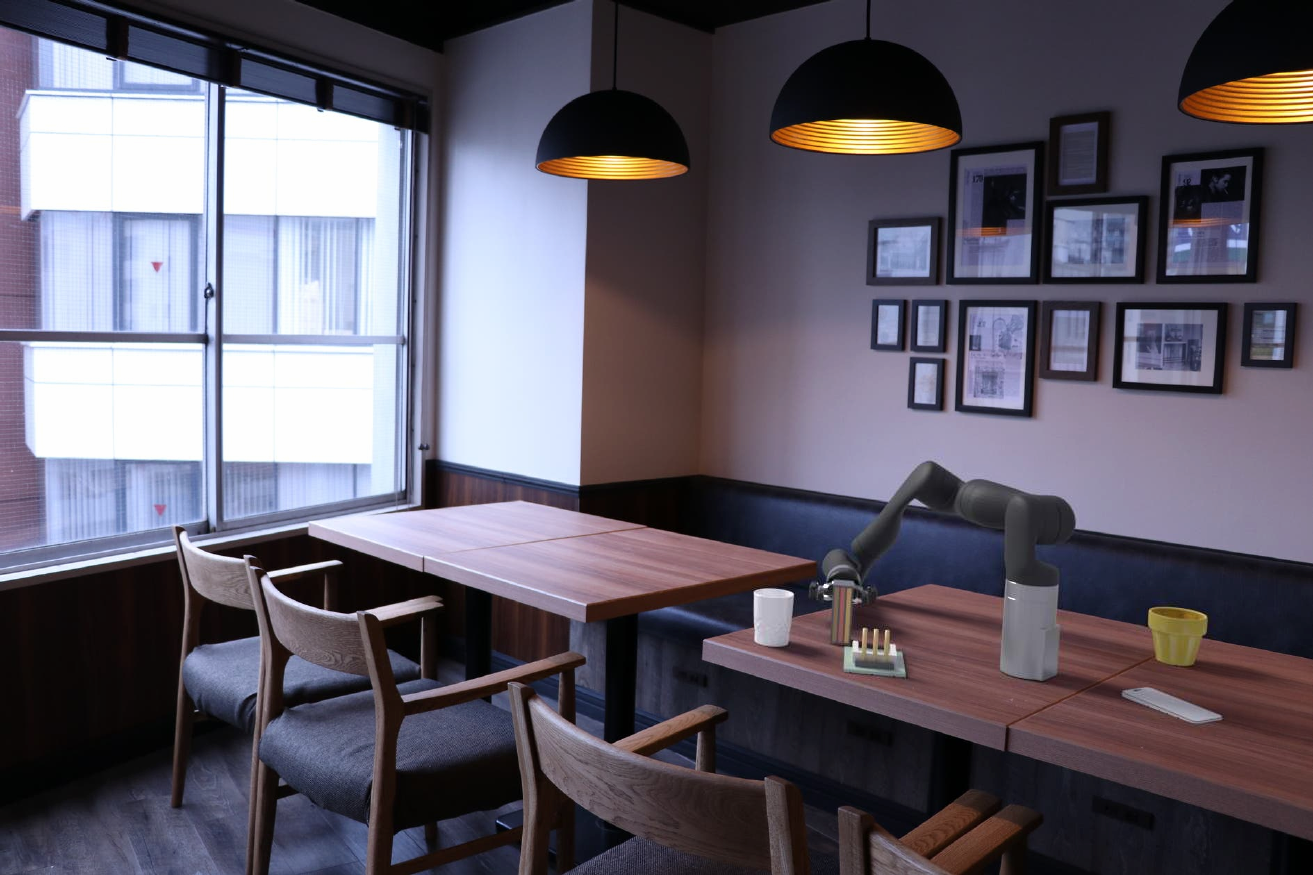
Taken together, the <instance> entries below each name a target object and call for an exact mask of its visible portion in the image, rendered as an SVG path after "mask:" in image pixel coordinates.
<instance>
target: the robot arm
mask: <svg viewBox="0 0 1313 875" xmlns="http://www.w3.org/2000/svg"><path fill="white" fill-rule="evenodd" d="M914 500H917V501H918V502H920V503H921V504H923V505H924V506H926V507H927V508H929V509H931V510H933V511H934V512H936V513H940V514H943V515H944V514H947V515H953V516H954V515H955V516H960V517H961V518H963V519H964V520H966V521H969V522H970V523H973V524H976V525H979V526H982V527H985V528H991V529H1000V530H1004V559H1003V560H1004V565H1005V572H1006V573H1005V587H1004V599H1003V600H1004V601H1003V602H1004V603H1003V616H1002V617H1003V618H1002V632H1001V646H1000V658H999V660H1000V661H999V662H1000V663H999V670H1000V671H1001V672H1002V673H1004V674H1007V675H1008V676H1011V677H1015V678H1020V679H1025V680H1026V679H1027V680H1036V681H1041V682H1043V681H1047V680H1048V679H1051V678H1053V677H1055V676H1057V675H1058V666H1059V665H1058V664H1059V663H1058V662H1059V650H1060V649H1059V648H1060V636H1061V625H1060V624H1059V623H1057V612H1058V599H1059V584H1060V571H1059V569H1058V568H1057V566H1054V565H1051V564H1049V563H1047V562H1044V561H1042V560H1041V559H1039V558H1038V557H1037V551H1036V549H1037V548H1036V546H1055V545H1056V546H1057V545H1060V544H1063V543H1065V542H1066V541H1068V540H1069V539H1070V538H1071V536H1072V535H1073V534H1074V532H1075V529H1076V524H1077V521H1076V520H1077V518H1076V514H1075V512H1074V510H1073V508H1072V506H1071V505H1070V504H1069V503H1068V502H1067V501H1066V500H1065V499H1064V498H1062V497H1060V496H1058V495H1050V494H1049V495H1048V494H1035V493H1029V492H1025V491H1023V490H1021V489H1017V488H1014V487H1011V486H1008V485H1005V484H1002V483H999V482H997V481H996V482H995V481H991V480H988V479H984V478H982V479H981V478H975V479H974V478H973V479H971V480H968V481H967V482H966V481H964V480H962V479H961V478H959V477H958V476H957V475H955V474H953V472H951V471H949V470H948V469H947V468H945V467H943V466H941V465H940V464H939V463H937V462H935V461H933V460H925V461H924V462H921V463H920V464H919V465H917V466H916V467H915V468H914V469H913V470H912V471H911V473H910V474H909V475H908V476H907V478H906V479H905V480H904V481H903V483H902V484H901V485H900V486H899V488H898V489H897V490H896V491H895V493H894V495H893V496H891V499H890V500H889V501H888V503H886V505H885V507H884V508H883V509H882V510H881V512H880V513H879V514H878V516H877V517H876V518H875V519H874V520H873V521H872V522H871V523H870V524H869V525H867V527H866V528H865V529H864V530H863V531H862V532H860V534H859V535H857V536H856V537H855V538H854V539H853V541H852V542H851V545H850V547H851V550H852V553H853V554H854V556H855V557H856V558H857V560H858V561H857V560H855V559H854V558H853V556H852V555H850V554H849V553H848V552H847V551H845V550H844V549H842V548H836V549H832V550H831V551H829V552H827V554H826V555H825V557H824V558H823V560H822V564H821V565H822V566H821V569H822V572H823V575H824V576H825V577H826V582H825V583H824V584H823V585H820V584H819V583H818V581H816V580H815V581H811V582H810V585H809V588H808V598H809V599H815V598H816V600H817V601H819V603H820V604H821V603H822V604H823V603H824V602H825V601H832V597H833V581H834V580H845V581H854V588H853V603H856V604H858V603H859V604H860V603H861V604H860V606H861V607H866V605H869V602H870V603H871V604H877V603H878V602H877V600H878V597H877V596H878V590H877V587H876V586H875V585H871V586H870V585H869V586H868V587H867V589H866V588H863V586H861V585H863V583H864V580H865V579H866V577H867V576H868V573H869V571H870V570H871V568H872V567H873V566H874V564H875V563H876V562H877V561H878V560H879V559H880V558H881V557H882V556H883V555H884V554H886V552H888V551H889V549H890V548H892V547H893V545H894V544H896V541H897V539H898V537H899V534H900V530H901V525H902V519H903V516H904V512H905V510H906V508H907V507H908V505H910V504H911V502H912V501H914ZM824 600H825V601H824Z"/></svg>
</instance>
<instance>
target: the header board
mask: <svg viewBox="0 0 1313 875" xmlns="http://www.w3.org/2000/svg"><path fill="white" fill-rule="evenodd" d="M868 631H869V630H868V628H867V627H863V628H862V643H861V644H862V645H861V647H859V641H858V640H853V641H852V646H844V653H843V655H844V656H843V673H850V672H851V673H852V674H853V673H854V674H863V675H871V674H873V675H874V676H883V677H893V676H895V677H896V678H903V677H904V679H905V678H906V677H907V676H906V675H907V674H906V668H905V662H904V657H903V656H904V655H903V651H897V647H896V644H895V643H890V637H891V635H890V634H891V632H890V630H889V629H885V632H884V646H883V648H884V649H878V648H879V632H880V631H879V629H878V628H874V629H873V642H872V648H868V647H867V644H868ZM851 673H850V674H851ZM873 675H872V676H873ZM895 677H894V678H895Z"/></svg>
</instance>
